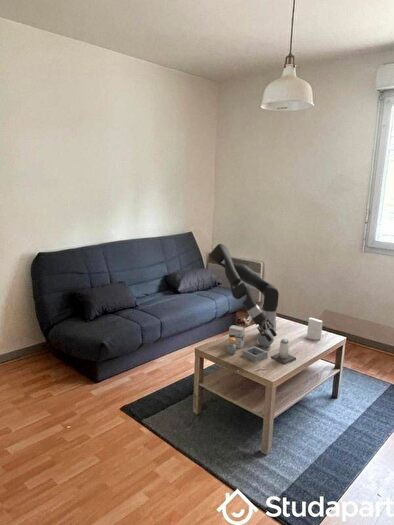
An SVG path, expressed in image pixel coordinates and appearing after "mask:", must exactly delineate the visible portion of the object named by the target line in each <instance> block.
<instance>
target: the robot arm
mask: <svg viewBox="0 0 394 525" xmlns="http://www.w3.org/2000/svg"><path fill="white" fill-rule="evenodd" d="M209 257H210V259H211V260H212V261H213V262H214V263H216V264H218V265H219V266H221V267H222V268H224V273H225V277H226V279H227V282H228V283H229V286H230V291H231V295H232V297H233V298H234V299H235V300H240V299H242V298H243V297H245V296H246V298H245V300H244V301H243V302H242V305H243V307H244V308H245V311H246V312H247V314H248V316H249V317H250V319H251V320H252V322H254V324H255V325H258V326H257V327H256V329H257V330H258V333H259V332H260V333H261V335H262V336H265V337H266V338H267V340H268V341H269V342H270V341H272V338H271V337H270V336H269V334H268V332H267V331H270V332H271V333H272V335H273V338H275V337H276V336H277V335H278V334H277V332H276V331H277V309H278V304H279V298H280V297H279V296H280V294H279V293H280V292H279V291H278V289H277V287H275V285H274V284H272V283H271V282H270V283H269V282H267V281H266V280H265V279H263V278H262V277H261V276H260V275H258V274H257V273H256V272H255V271H254V270H253V269H252V268H250V267H249V266H248V265H246V264H244V263H237V262H235V263H234V261H233V259H232V257H231V252H230V251H229V249H228V247H227V246H226V245H224V244H223V243H218V244H217V245H216V246H215V248H213V250H212V251H211V252H210V254H209ZM249 285H250V286H252V287H253V288H255V289H256V290H258V291H259V292H260V293H261V294H262V295H263V304H262V305H261V306H262V308H261V307H260V306H259V305H258V304H257V302H256V300H255V299H254V297H253V296H252V293H251V290H250V287H249Z"/></svg>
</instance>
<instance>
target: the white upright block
mask: <svg viewBox="0 0 394 525" xmlns="http://www.w3.org/2000/svg"><path fill="white" fill-rule="evenodd" d="M307 323H308V324H307V330H306V333H307V334H306V337H307V338H308V339H310V338H311V340H314V339H318V340H321V339H322V334H323V332H322V331H323V320H321V319H317V318H314V317H309V318H308V322H307Z"/></svg>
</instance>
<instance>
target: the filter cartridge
mask: <svg viewBox="0 0 394 525" xmlns="http://www.w3.org/2000/svg"><path fill="white" fill-rule="evenodd" d="M279 342H280V343H279V352H278V353H279V357H280V358H282V359H287V358H288V354H289V349H290V342H289V339H286V338H282V339H281V340H280V341H279Z"/></svg>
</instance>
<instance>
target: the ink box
mask: <svg viewBox="0 0 394 525" xmlns="http://www.w3.org/2000/svg"><path fill="white" fill-rule="evenodd" d="M245 329H246V328H245V327H243V326H239V325H233V324H232V325H231V326H229V329H228V339H229V338H230V337H233V338H235V339H236V342H235V344H236V348H239V349H242V348H243V347H244V345H245V333H246V330H245ZM227 343H228V344H229V341H228V342H227ZM228 344H227V345H228Z"/></svg>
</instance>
